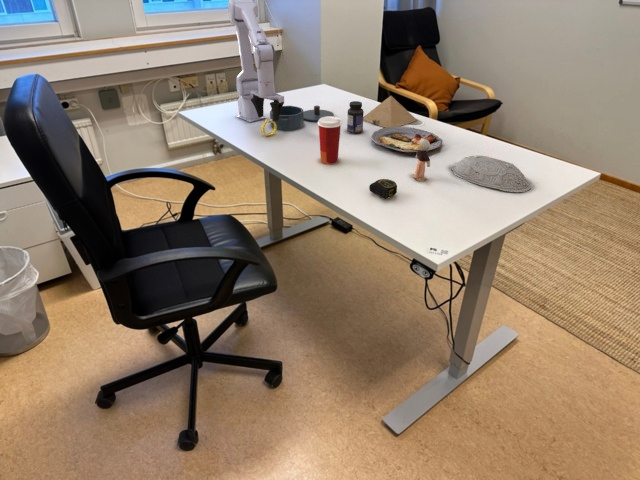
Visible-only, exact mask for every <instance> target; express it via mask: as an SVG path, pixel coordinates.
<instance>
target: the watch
mask: <svg viewBox="0 0 640 480" xmlns="http://www.w3.org/2000/svg"><path fill="white" fill-rule="evenodd" d="M271 122H273V124H274V129H273V130H272V131H271V133H266V132H265V126H266V125H267V124H269V123H270V124H271ZM276 129H277V126H276V123H275V122H274V121H273V120H272V119H270V118H264V121H263V122H262V124H261V128H260V130H261V131H260V132H261V133H262V134H263V135H264V136H265V137H269V136H274V135H275V134H276V131H277V130H276Z"/></svg>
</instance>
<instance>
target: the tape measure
mask: <svg viewBox="0 0 640 480" xmlns="http://www.w3.org/2000/svg"><path fill="white" fill-rule="evenodd" d="M368 189H369V191H370V192H371V193H373V194H374V195H376V196H378V197H379V198H381V199H383V200H387V199H389V198H392V197H395V195H396V194H397V193H398V192H397V191H398V184H397V183H396V182H395V181H394V180H392V179H388V178H379V179H377V180H376V181H374V182H372V183H370V185H368Z"/></svg>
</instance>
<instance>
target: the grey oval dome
mask: <svg viewBox="0 0 640 480" xmlns="http://www.w3.org/2000/svg"><path fill="white" fill-rule="evenodd" d="M450 170H451V171H452V173H453V175H455V176H456V177H458V178H461V179H463V180H465V181H468V182H470V183H472V184H476V185H479V186H482V187H486V188H492V189H497V190H500V191H503V192H510V193H524V192H527V191H530V190H531V189H532V183H531V182H530V181H529V180H528V179H527V178H526V177H525V174H524V173H523V172H522V171H521V170H520V169H519V168H518V166H516V165H515V164H514V163H512V162H508V161H505V160H502V159H497V158H495V157H490V156H487V155H481V154H480V155H479V154H477V155H471V156H465V157H463V158H461V159H460V160H459V161H458V162H457V163H456V164H455V165H451V167H450Z"/></svg>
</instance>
